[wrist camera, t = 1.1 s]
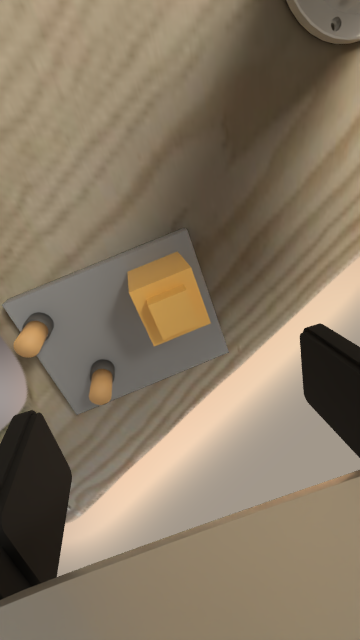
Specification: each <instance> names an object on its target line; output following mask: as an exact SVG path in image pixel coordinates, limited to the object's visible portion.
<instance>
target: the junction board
mask: <svg viewBox="0 0 360 640" xmlns="http://www.w3.org/2000/svg"><path fill="white" fill-rule="evenodd" d="M177 251H178V253H179V254H180V255H181V256H182V257H183V258H184V260H185V261H186V262H187V263H188V264H189V265H190V267H191V268H192V271H193V274H194V277H195V280H196V282H197V285H198V288H199V291H200V294H201V297H202V299H203V302H204V305H205V308H206V311H207V314H208V316H209V319H210V322H211V323H210V324H208V325H206V326H203V327H201V328H198V329H196V330H193V331H191V332H188V333H186V334H184V335H181V336H179V337H176V338H174V339H171V340H169V341H167V342H164V343H162V344H159V345H157V346H154V345H153V343H152V341H151V339H150V337H149V335H148V333H147V330H146V328H145V326H144V324H143V322H142V320H141V318H140V316H139V313H138V311H137V309H136V307H135V305H134V303H133V301H132V298H131V296H130V294H129V288H128V273H127V272H128V271H130V270H133V269H135V268H138V267H140V266H143V265H145V264H148V263H150V262H153V261H155V260H157V259H160V258H162V257H165V256H167V255H170V254H172V253H175V252H177ZM2 306H3V307H4V309H5V310H6V312H7V313H8V315H9V316H10V317H11V319H12V320H13V322H14V323H15V325H16V326H17V328H18V329H19V331H20V332H21V333H20V334H19V336H18V337H17V339H16V340H15V342H14V349H15V351H16V352H17V353H18V354H19V355H20V356H23V357H34V356H37V357H38V359H39V360H40V362H41V363H42V364H43V366H44V367H45V369H46V370H47V372H48V373H49V375H50V376H51V378H52V379H53V381H54V382H55V384H56V385H57V387H58V388H59V389H60V391H61V392H62V394H63V395H64V397H65V398H66V400H67V401H68V403H69V404H70V406H71V407H72V409H73V410H74V411H75V413H76V414H77V415H78V414H80V413H83V412H85V411H88V410H90V409H93V408H95V407H97V406H100V405H103V404H106V403H108V402H110V401H112V400H114V399H117V398H119V397H122V396H124V395H127V394H129V393H131V392H134V391H136V390H139V389H141V388H144V387H146V386H148V385H151V384H153V383H156V382H158V381H161V380H163V379H165V378H168V377H170V376H173V375H175V374H178V373H180V372H182V371H185V370H187V369H190V368H192V367H195V366H197V365H199V364H202V363H204V362H207V361H209V360H212V359H214V358H216V357H219V356H221V355H224V354H226V353H229V351H228V348H227V345H226V342H225V339H224V336H223V333H222V331H221V328H220V325H219V322H218V319H217V316H216V313H215V310H214V307H213V304H212V301H211V298H210V295H209V292H208V289H207V287H206V284H205V281H204V278H203V275H202V272H201V269H200V266H199V263H198V260H197V257H196V254H195V251H194V248H193V245H192V243H191V240H190V237H189V234H188V231H187V229H185V228H182V229H180V230H177V231H175V232H172V233H170V234H167V235H165V236H162V237H160V238H157V239H155V240H152V241H150V242H148V243H145V244H143V245H140V246H138V247H135V248H133V249H130V250H128V251H125V252H123V253H120V254H118V255H116V256H113V257H111V258H108V259H106V260H103V261H101V262H98V263H96V264H93V265H91V266H88V267H86V268H84V269H81V270H79V271H76V272H74V273H71V274H69V275H66V276H64V277H61V278H59V279H56V280H54V281H52V282H49V283H47V284H44V285H42V286H39V287H37V288H34V289H32V290H29V291H27V292H24V293H22V294H20V295H17V296H15V297H12V298H10V299H7V300H6V301H5V302H4V303H3V304H2Z"/></svg>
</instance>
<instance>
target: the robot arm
mask: <svg viewBox="0 0 360 640" xmlns="http://www.w3.org/2000/svg"><path fill="white" fill-rule="evenodd" d="M286 1H287V3H288V5H289V8H290V10H291V11H292V13H293V14H294V16H295V17H296V18H297V20H298V21H299V23H300V24H301V25H302V26H303V27H304V28H305V29H306V30H307V31H308V32H309V33H311V34H312V35H314V36H316V37H317V38H319V39H321V40H323V41H326V42H330V43H334V44H350V43H354V42H357V41H360V0H286ZM300 345H301V346H300V347H301V360H302V375H303V389H304V395H305V398H306V400H307V402H308V403H309V404H310V405H311V406H312V407H313V408H314V409H315V411H317V413H318V414H319V415H320V416H321V417H322V418H323V419H324V420H325V421H326V422H327V423H328V424H329V425H330V427H331V428H333V430H334V431H335V432H336V433H337V434H338V435H339V436H340V437H341V438H342V439H343V440H344V441H345V443H346V444H347V445H348V446H349V447H350V448H351V449H352V450H353V451H354V452H355V453H356V454H357V455H358V456H359V458H360V347H359V346H357V345H355V344H354V343H352V342H351V341H349V340H347V339H346V338H344V337H342V336H341V335H339V334H338V333H336V332H334V331H333V330H331V329H329V328H328V327H326V326H324V325H323V324H317V325H314V326H310V327H307V328H305V329H304V331H303V333H301V334H300ZM71 480H72V475H71V470H70V467H69V466H68V464H67V462H66V460H65V458H64V456H63V454H62V452H61V450H60V448H59V446H58V444H57V442H56V440H55V438H54V436H53V435H52V433H51V431H50V429H49V427H48V425H47V423H46V421H45V419H44V417H43V415H42V414H41V413H36V412H35V411H33V410H31V411H28V412H25V413H21V414H18V415H15V416H14V417H13V418H12V420H11V422H10V425H9V427H8V429H7V431H6V433H5V435H4V437H3V440H2V442H1V444H0V640H360V470H358V471H355V472H352V473H349V474H346V475H343V476H340V477H337V478H335V479H332V480H329V481H326V482H323V483H320V484H317V485H314V486H311V487H308V488H306V489H303V490H300V491H297V492H294V493H291V494H288V495H285V496H282V497H280V498H277V499H274V500H271V501H268V502H265V503H263V504H260V505H257V506H254V507H251V508H248V509H245V510H242V511H240V512H237V513H234V514H232V515H228V516H225V517H223V518H220V519H217V520H214V521H211V522H209V523H206V524H203V525H200V526H197V527H194V528H192V529H189V530H186V531H183V532H180V533H177V534H175V535H172V536H169V537H166V538H163V539H161V540H158V541H155V542H152V543H150V544H147V545H144V546H141V547H138V548H136V549H133V550H130V551H127V552H124V553H122V554H119V555H116V556H113V557H111V558H108V559H105V560H102V561H99V562H97V563H94V564H91V565H88V566H86V567H83V568H80V569H78V570H75V571H72V572H70V573H67V574H64V575H62V576H59V577H57V570H58V564H59V558H60V551H61V545H62V538H63V532H64V526H65V519H66V513H67V506H68V500H69V493H70V487H71Z"/></svg>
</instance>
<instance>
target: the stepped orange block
mask: <svg viewBox="0 0 360 640" xmlns="http://www.w3.org/2000/svg"><path fill="white" fill-rule="evenodd" d="M127 273H128V288H129V294H130V296H131V298H132V301H133V303H134V305H135V307H136V309H137V311H138V313H139V316H140V318H141V320H142V322H143V324H144V326H145V328H146V330H147V333H148V335H149V337H150V339H151V341H152V343H153V345H154V346H157V345H159V344H162V343H164V342H167V341H169V340H171V339H174V338H176V337H179V336H181V335H184V334H186V333H188V332H191V331H193V330H196V329H198V328H201V327H203V326H206V325H208V324H210V323H211V322H210V319H209V316H208V314H207V311H206V308H205V305H204V302H203V299H202V297H201V294H200V291H199V288H198V285H197V282H196V280H195V277H194V274H193V271H192V268H191V267H190V265H189V264H188V263H187V262H186V261H185V260H184V258H183V257H182V256H181V255H180V254H179V253H178V251H177V252H175V253H172V254H170V255H167V256H165V257H162V258H160V259H157V260H155V261H153V262H150V263H148V264H145V265H143V266H140V267H138V268H135V269H133V270H130V271H128V272H127Z"/></svg>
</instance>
